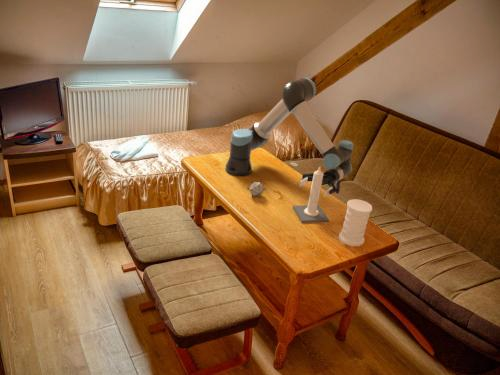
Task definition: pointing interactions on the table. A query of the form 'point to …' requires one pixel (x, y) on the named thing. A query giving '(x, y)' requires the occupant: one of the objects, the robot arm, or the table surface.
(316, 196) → the candle
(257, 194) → the game die
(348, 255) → the table surface
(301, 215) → the slate tile
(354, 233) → the decorative container
